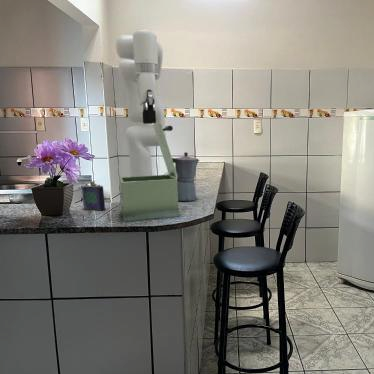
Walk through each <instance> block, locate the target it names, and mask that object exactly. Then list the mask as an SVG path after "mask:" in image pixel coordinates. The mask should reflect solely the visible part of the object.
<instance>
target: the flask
mask: <svg viewBox="0 0 374 374" xmlns="http://www.w3.org/2000/svg"><path fill="white" fill-rule="evenodd" d="M95 182H96V180H93V181H89V184H90V185H89V184H88V185H82V186H81V192H82V206H83V210H85V211H86V210H88V211H105V210H106V204H105V203H106V202H105V194H104V186H103V185H100V184H97V183H95Z"/></svg>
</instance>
